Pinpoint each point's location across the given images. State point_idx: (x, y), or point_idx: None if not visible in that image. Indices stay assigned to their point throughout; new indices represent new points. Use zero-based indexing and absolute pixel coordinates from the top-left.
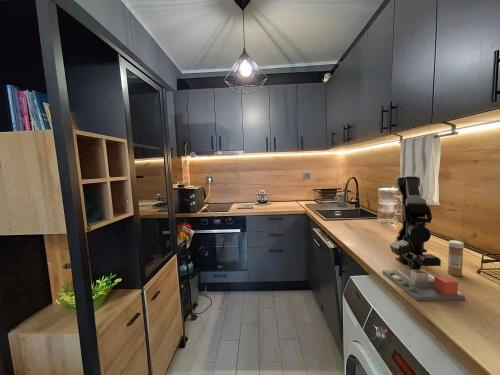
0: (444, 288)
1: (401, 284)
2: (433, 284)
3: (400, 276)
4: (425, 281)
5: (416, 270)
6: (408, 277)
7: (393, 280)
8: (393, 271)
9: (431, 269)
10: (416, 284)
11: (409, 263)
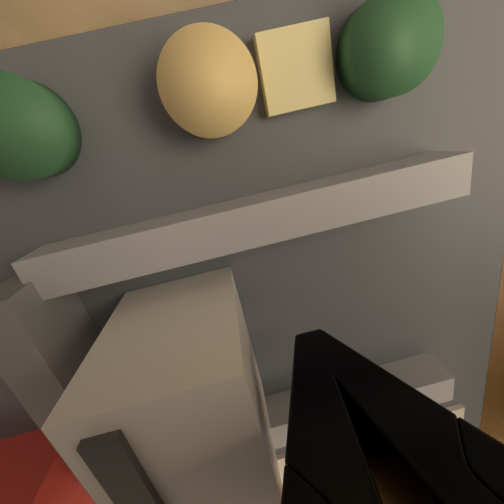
0: None
1: (16, 69)
2: None
3: (319, 170)
4: (35, 420)
5: (217, 455)
6: (204, 247)
7: (212, 17)
8: (478, 128)
9: None
10: (4, 283)
11: (459, 483)
